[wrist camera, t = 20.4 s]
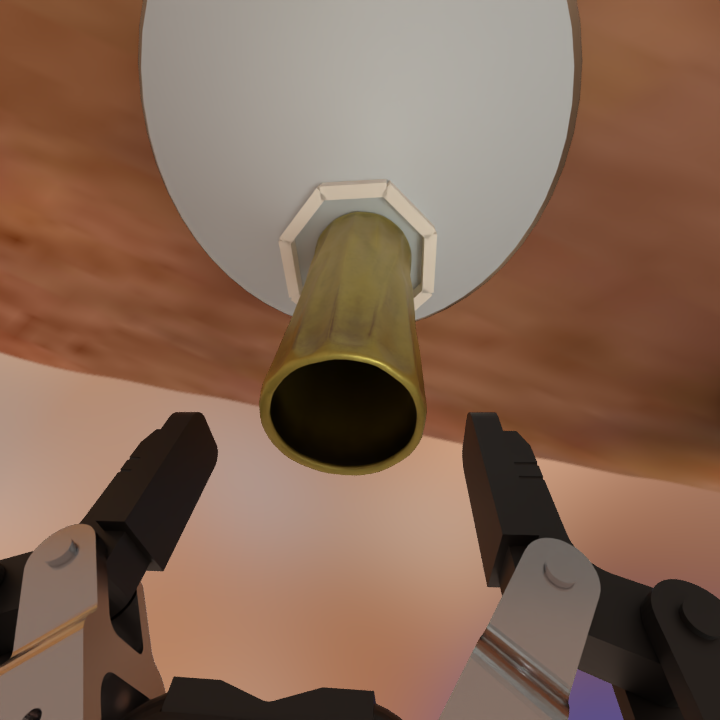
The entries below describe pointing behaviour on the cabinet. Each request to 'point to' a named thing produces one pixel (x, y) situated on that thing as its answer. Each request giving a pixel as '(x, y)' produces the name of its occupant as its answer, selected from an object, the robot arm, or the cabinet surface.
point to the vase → (350, 355)
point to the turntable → (357, 129)
